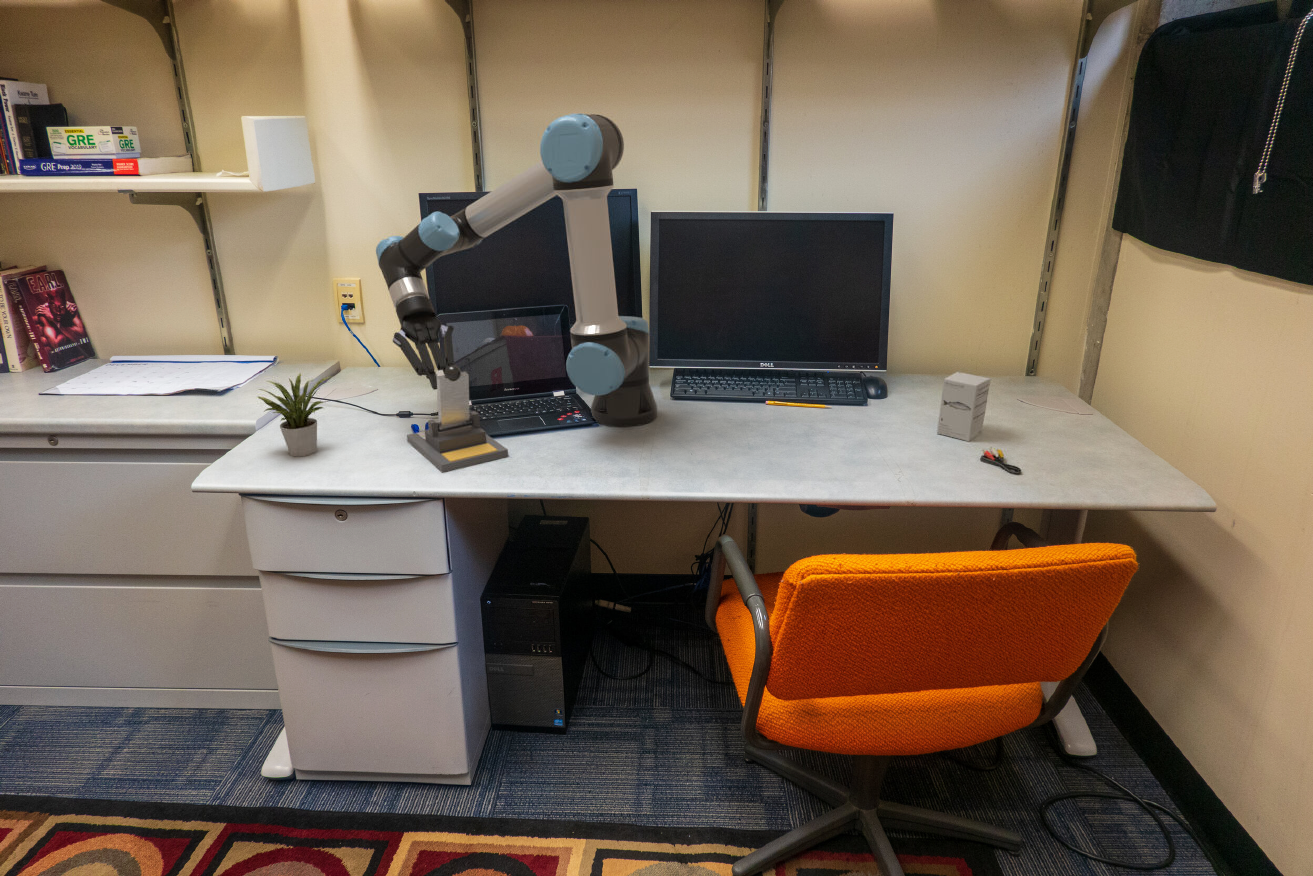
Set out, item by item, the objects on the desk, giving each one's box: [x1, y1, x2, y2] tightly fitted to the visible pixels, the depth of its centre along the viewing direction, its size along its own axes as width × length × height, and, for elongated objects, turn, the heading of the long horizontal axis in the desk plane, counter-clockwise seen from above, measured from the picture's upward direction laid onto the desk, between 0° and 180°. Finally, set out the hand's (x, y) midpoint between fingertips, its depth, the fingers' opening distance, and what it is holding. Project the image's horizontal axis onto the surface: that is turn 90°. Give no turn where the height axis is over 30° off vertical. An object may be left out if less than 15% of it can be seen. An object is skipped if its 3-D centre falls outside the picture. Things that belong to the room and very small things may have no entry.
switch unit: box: [406, 410, 509, 473], centre depth 169 cm, size 20×14×7 cm
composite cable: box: [979, 446, 1022, 476], centre depth 160 cm, size 10×5×2 cm, turn 9°
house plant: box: [256, 372, 334, 457], centre depth 167 cm, size 14×14×16 cm
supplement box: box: [936, 371, 992, 442], centre depth 175 cm, size 7×7×13 cm
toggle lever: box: [436, 364, 472, 432], centre depth 165 cm, size 3×7×14 cm, turn 125°
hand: (447, 401), depth 167 cm, fingers closed
